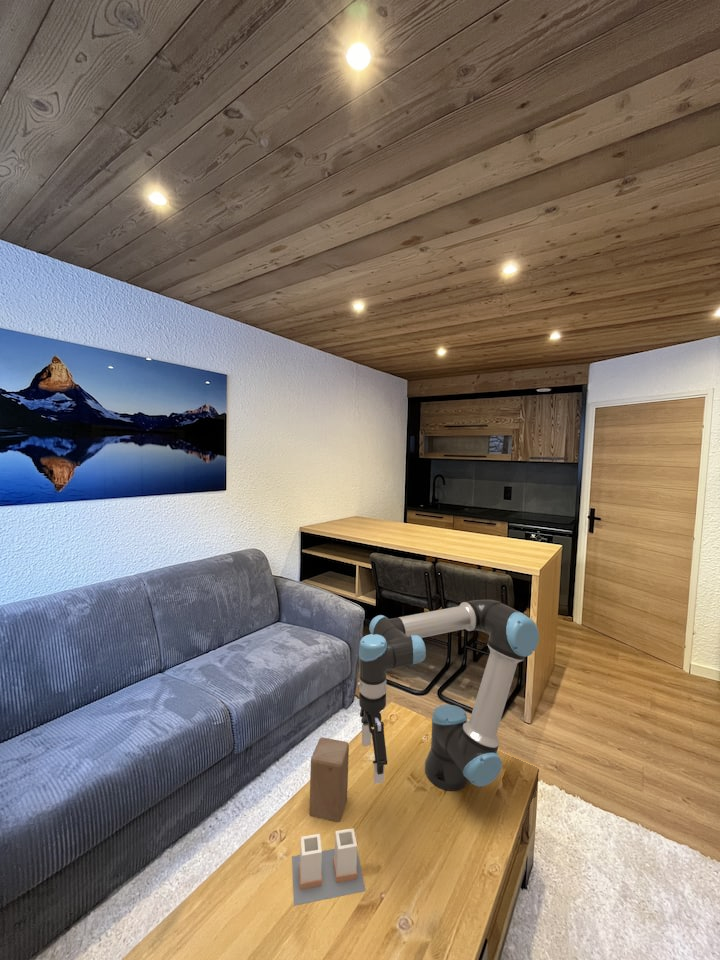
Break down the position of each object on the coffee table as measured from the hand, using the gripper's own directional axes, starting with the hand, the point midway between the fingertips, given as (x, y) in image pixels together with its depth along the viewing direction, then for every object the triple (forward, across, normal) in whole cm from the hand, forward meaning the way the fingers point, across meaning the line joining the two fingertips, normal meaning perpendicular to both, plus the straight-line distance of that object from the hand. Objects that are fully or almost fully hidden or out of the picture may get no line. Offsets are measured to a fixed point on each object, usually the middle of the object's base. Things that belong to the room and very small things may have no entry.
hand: (372, 762), depth 114 cm
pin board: (+24, +7, -14) cm, 29 cm away
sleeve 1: (+22, +7, -19) cm, 30 cm away
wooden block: (+24, -12, -11) cm, 29 cm away
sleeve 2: (+22, +8, -10) cm, 26 cm away
